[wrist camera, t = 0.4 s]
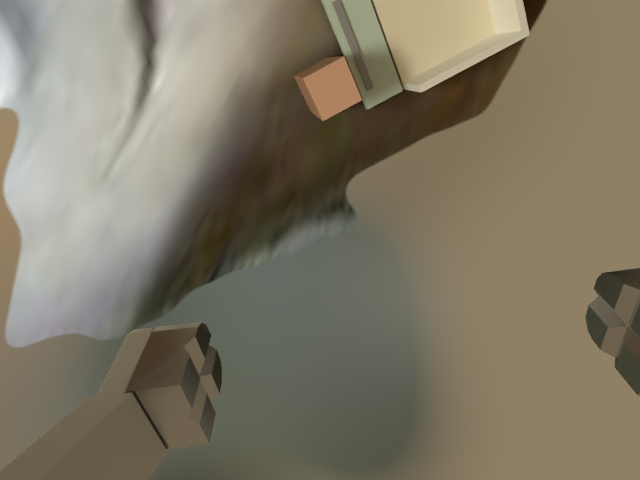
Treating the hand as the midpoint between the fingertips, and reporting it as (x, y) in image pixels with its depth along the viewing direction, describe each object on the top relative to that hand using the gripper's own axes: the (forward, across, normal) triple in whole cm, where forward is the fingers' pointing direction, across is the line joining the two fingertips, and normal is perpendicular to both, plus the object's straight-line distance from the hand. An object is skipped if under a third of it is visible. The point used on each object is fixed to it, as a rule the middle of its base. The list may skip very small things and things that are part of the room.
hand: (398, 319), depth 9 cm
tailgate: (+45, -7, 0) cm, 46 cm away
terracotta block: (+44, +1, +4) cm, 44 cm away
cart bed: (+47, -13, -2) cm, 49 cm away
